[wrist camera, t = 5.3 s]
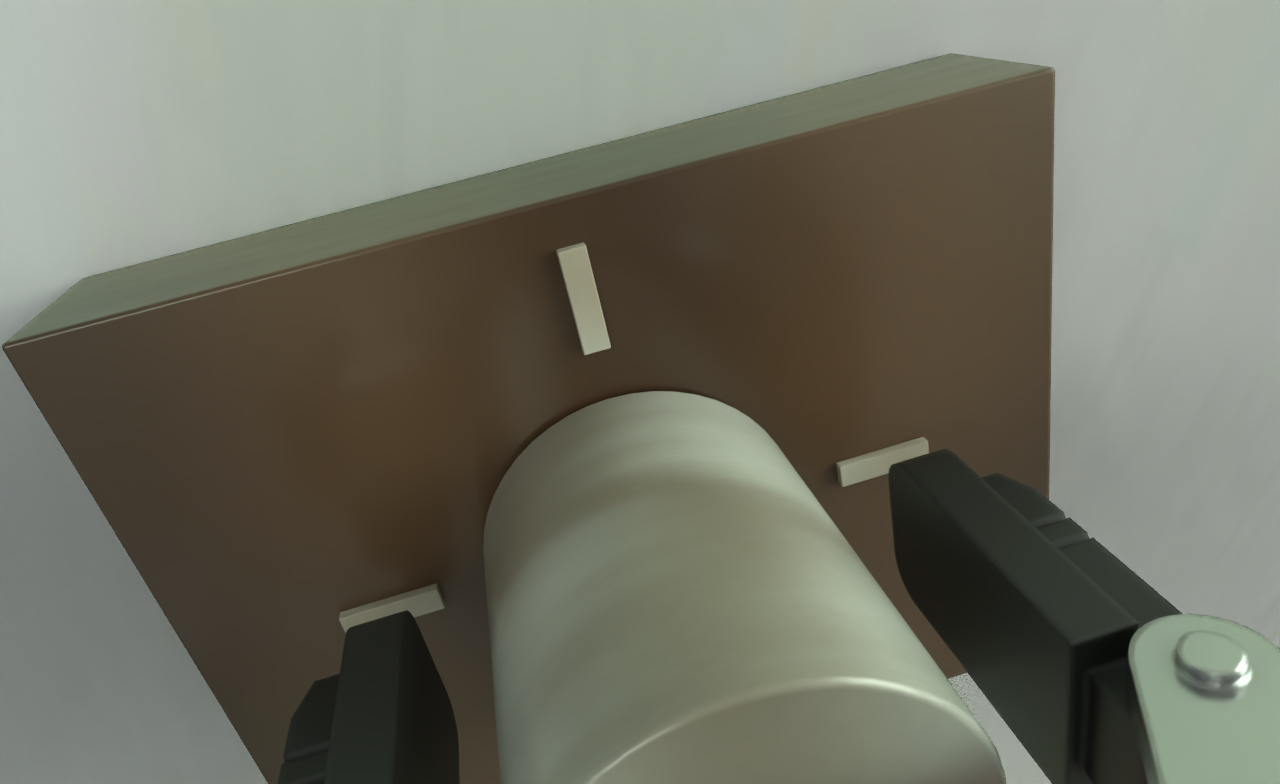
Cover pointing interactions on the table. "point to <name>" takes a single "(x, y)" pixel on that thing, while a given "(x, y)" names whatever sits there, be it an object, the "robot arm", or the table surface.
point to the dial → (699, 618)
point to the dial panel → (556, 362)
